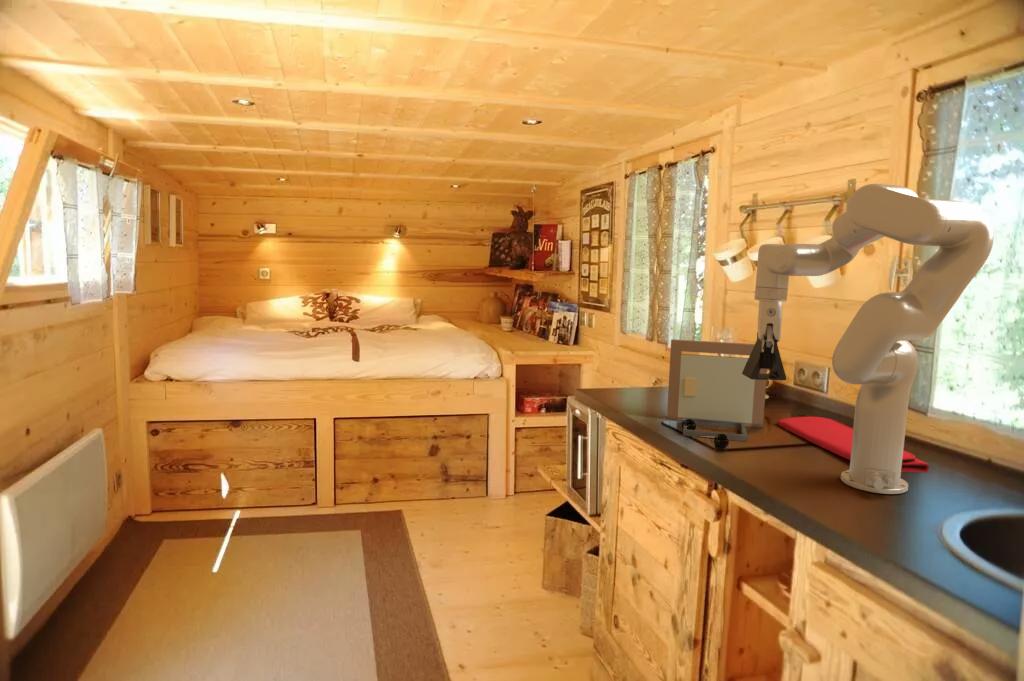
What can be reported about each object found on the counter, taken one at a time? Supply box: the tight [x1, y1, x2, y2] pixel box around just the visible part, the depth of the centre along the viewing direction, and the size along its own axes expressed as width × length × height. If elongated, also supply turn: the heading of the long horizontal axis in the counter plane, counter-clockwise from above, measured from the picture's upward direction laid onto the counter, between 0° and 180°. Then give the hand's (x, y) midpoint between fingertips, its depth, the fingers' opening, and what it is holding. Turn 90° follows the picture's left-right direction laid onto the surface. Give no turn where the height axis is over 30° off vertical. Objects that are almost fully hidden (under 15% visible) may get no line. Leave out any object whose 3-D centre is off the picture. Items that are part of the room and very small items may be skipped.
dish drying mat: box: [776, 416, 930, 473], centre depth 171 cm, size 16×41×4 cm, turn 6°
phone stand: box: [742, 329, 787, 381], centre depth 169 cm, size 9×6×12 cm, turn 90°
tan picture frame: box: [666, 338, 768, 429], centre depth 191 cm, size 4×26×23 cm, turn 74°
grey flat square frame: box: [682, 418, 748, 442], centre depth 182 cm, size 14×16×2 cm
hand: (764, 365), depth 169 cm, fingers closed on phone stand, 6 cm apart
